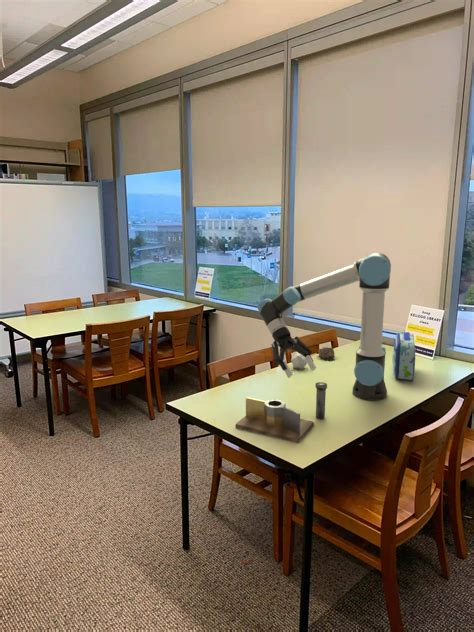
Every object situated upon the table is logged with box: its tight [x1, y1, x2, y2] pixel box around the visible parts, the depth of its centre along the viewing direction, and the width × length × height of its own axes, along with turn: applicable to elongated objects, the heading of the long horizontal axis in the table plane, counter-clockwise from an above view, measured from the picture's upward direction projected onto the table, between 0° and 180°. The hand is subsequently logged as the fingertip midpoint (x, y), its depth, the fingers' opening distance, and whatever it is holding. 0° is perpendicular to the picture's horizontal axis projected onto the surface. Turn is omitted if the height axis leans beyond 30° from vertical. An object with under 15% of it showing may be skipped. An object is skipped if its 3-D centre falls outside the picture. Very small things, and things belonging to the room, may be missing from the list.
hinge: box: [245, 396, 301, 434], centre depth 171 cm, size 24×8×8 cm, turn 61°
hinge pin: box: [314, 381, 328, 420], centre depth 179 cm, size 5×5×14 cm
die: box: [290, 352, 308, 370], centre depth 240 cm, size 8×9×10 cm
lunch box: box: [392, 331, 416, 381], centre depth 227 cm, size 26×11×21 cm, turn 161°
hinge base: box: [235, 415, 315, 444], centre depth 173 cm, size 26×16×2 cm, turn 61°
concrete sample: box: [317, 347, 335, 361], centre depth 258 cm, size 12×10×5 cm
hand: (302, 372), depth 185 cm, fingers open, 13 cm apart
